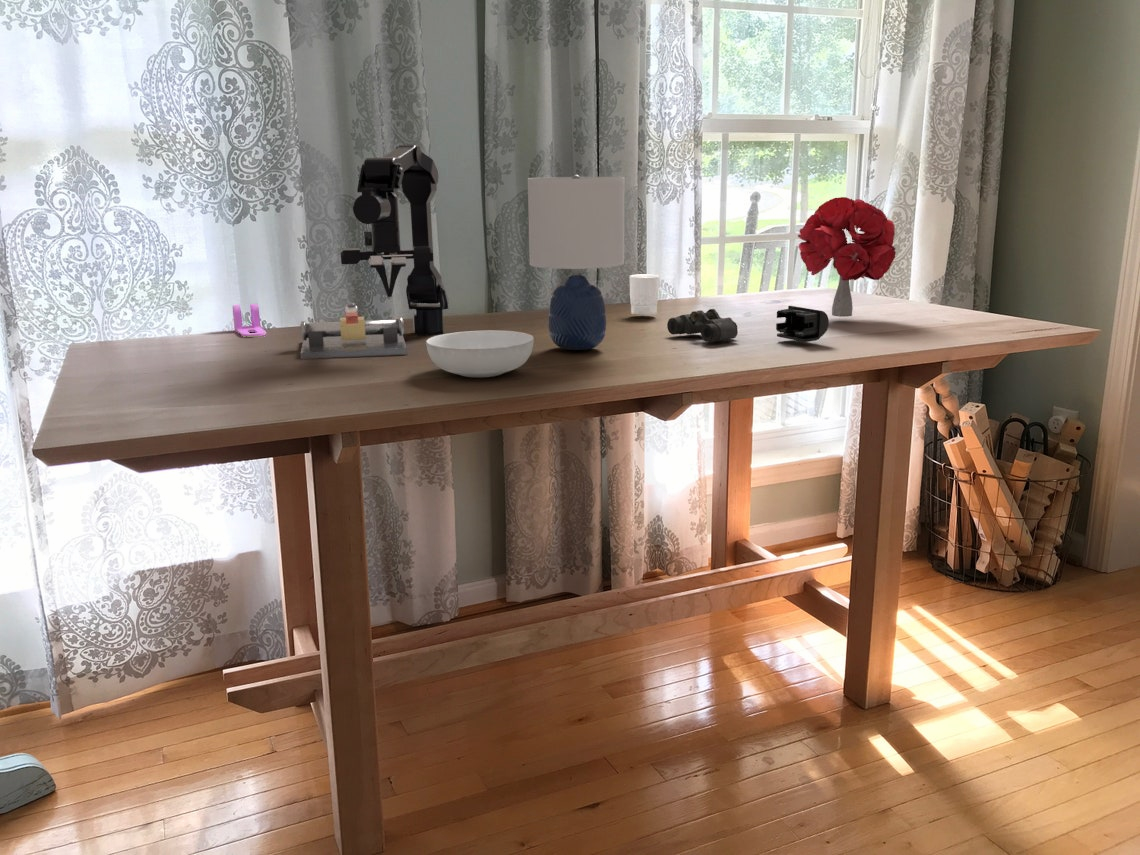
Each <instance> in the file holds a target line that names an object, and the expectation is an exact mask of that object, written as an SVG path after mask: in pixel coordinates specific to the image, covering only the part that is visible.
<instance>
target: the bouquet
mask: <svg viewBox="0 0 1140 855" xmlns="http://www.w3.org/2000/svg"><path fill="white" fill-rule="evenodd" d="M858 229H859V230H858ZM857 230H858V231H859V232H857ZM895 230H896V228H895V224H894V222H893V220H891V219H888V217H887V214H886V213H885V212H884V211H883V210H882V209H880V208H877V207H876V206H875V205H873V204H871V203H868V202H866V201H865V200H862V199H861V198H859V199H855V200H854V199H852V198H849V197H846V196H840V197H834V198H830V199H829V200H827V201H825V202H824V203H821V204H820V205H819V206H818V208H817V209H816V210H815V212H814V213H813V214H811V215H810V216H809V217H808V218H807V220H806V222H805V224H804V226H803V227H802V228H800V229H799V234H798V235H797V238H799V239H800V240H801V241H802V242H800V243H799V244H798V250H799V251H800V252H799V254H800V259H801V260H802V262H803V263H804V264H805V268H806V270H807V271H808V272H810V274H811V275H812V276H815V275H817V274H819V273H820V272H822V271H823V270H825V269H826V268H827V267H828V266H829V264H830V263H831V261H832V260H833V261H832V267H833V268H834V269H835V270H836V272H837V274H838V275H839V280H838V285H837V288H836V292H835V295H834V298H833V302H832V307H831V315H832V316H833V317H839V318H840V317H842V318H843V317H846V318H847V317H852V316H853V298H852V292H851V288H850V281H857V280H859V279H860V278H862V279H865V278H868V279H870V280H873V281H879V280H881V279H882V278H883V277H884V275H885V274H887V273H888V271H889V270H890V269H891V268H890V267H891V266H892V264H893V262H894V260H895V258H896V253H897V252H896V247H895V246H893V244H894V239H895V235H896V233H895ZM846 232H848V233H849V235H850V236H851V242H848V237H847V236H846ZM860 232H861V233H860Z"/></svg>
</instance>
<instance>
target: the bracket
mask: <svg viewBox="0 0 1140 855" xmlns="http://www.w3.org/2000/svg"><path fill="white" fill-rule="evenodd" d="M241 309H242V308H241V305H240V304H234V305H232V315H233V316H232V317H233V327H234V331H235V332H236V333H237V332H239V333H240V334H241V335H242V336H262V335H265V334H266V335H267V331H266V330H265V329H263V328H262V325H261V319H260V318H261V316H260V309H259V305H258V303H250V309H249V310H250V317H251V325H246V326H245V325H243V320H242V319H243V317H242V316H243V315H242V310H241ZM248 331H255V332H256V333H249V332H248ZM242 336H241V337H242Z"/></svg>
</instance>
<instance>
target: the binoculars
mask: <svg viewBox="0 0 1140 855" xmlns="http://www.w3.org/2000/svg"><path fill="white" fill-rule="evenodd" d="M667 331H668V332H669V333H670V334H671V335H694V334H700V336H701V339H702V340H703V341H705V342H708V343H710V342H719V341H725V340H732V339H735V338H736V337H737V336H738V325H737V323H736V322H735V321H734V320H733V319H732V318H731V317H721V316H720V314H719V312H718V311H717V310H716V309H714V308H710V309H708V310H707V311H705V312H704V311H703V310H701V309H700V310H696V311H692V312H690V313H688V314H687V313H686V314H681V315H679V316H676V317H670V318H669V319H668V321H667Z"/></svg>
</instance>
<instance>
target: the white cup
mask: <svg viewBox="0 0 1140 855" xmlns="http://www.w3.org/2000/svg"><path fill="white" fill-rule="evenodd" d="M659 284H660V275H658V274H650V273H647V274H646V273H645V274H644V273H641V274H632V275H631V274H630V275H629V298H630V313H631V314H632V315H634V314H637V315H636V316H652V314H654V315H656V314H657V313H658V312H657V309H658V305H657V304H658V300H659V287H660V286H659Z"/></svg>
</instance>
